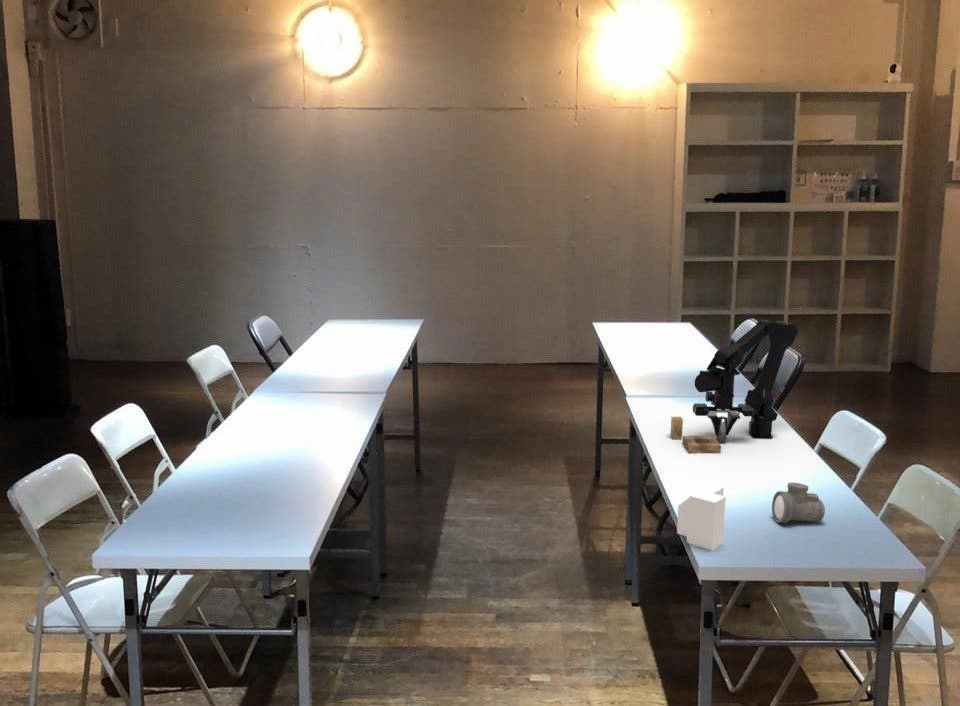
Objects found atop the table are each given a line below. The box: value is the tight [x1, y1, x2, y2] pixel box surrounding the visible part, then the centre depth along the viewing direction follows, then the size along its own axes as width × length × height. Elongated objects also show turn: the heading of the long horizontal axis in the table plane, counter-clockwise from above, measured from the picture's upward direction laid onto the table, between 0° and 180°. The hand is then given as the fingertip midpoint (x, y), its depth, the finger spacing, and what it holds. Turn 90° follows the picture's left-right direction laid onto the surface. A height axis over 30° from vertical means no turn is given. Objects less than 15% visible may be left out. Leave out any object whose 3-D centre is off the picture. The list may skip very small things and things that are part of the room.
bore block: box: [682, 435, 722, 454], centre depth 296 cm, size 10×10×3 cm
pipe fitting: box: [771, 481, 826, 524], centre depth 237 cm, size 12×8×10 cm
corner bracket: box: [676, 484, 727, 551], centre depth 226 cm, size 11×11×12 cm
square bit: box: [669, 416, 684, 441], centre depth 307 cm, size 3×3×7 cm
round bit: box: [716, 415, 728, 444], centre depth 302 cm, size 3×3×8 cm
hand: (721, 435), depth 303 cm, fingers closed on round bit, 3 cm apart
